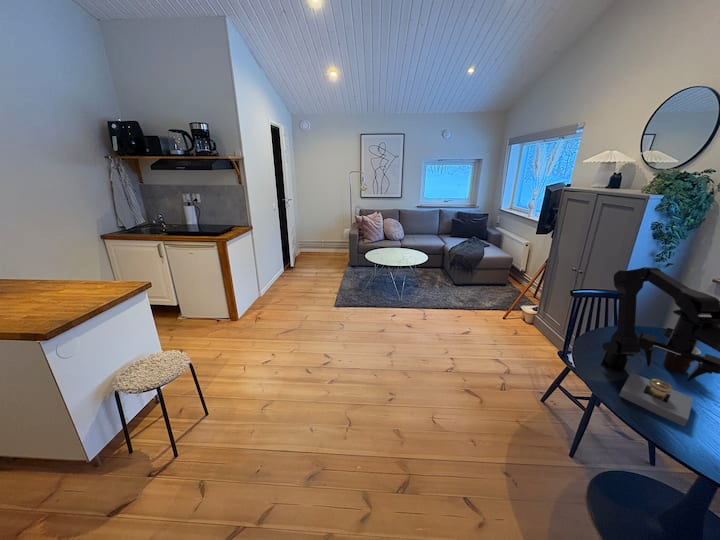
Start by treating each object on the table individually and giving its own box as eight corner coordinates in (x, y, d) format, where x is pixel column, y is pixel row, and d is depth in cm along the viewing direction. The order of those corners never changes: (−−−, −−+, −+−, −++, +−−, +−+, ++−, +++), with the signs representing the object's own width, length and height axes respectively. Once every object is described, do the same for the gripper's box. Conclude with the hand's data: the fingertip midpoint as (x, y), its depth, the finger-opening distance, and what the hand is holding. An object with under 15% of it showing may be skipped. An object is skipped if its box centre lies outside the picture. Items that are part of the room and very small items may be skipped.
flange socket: (618, 395, 102) (621, 389, 101) (628, 378, 110) (631, 372, 109) (684, 426, 90) (688, 419, 89) (689, 404, 99) (693, 398, 97)
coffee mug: (673, 361, 120) (683, 340, 116) (696, 375, 112) (707, 354, 108) (646, 361, 120) (655, 341, 116) (667, 376, 112) (677, 354, 108)
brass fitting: (641, 399, 101) (649, 383, 98) (644, 392, 104) (652, 376, 101) (663, 409, 97) (671, 393, 94) (665, 401, 100) (673, 385, 97)
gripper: (734, 337, 88) (711, 378, 94) (651, 313, 102) (635, 350, 107) (732, 351, 82) (708, 394, 87) (644, 323, 95) (628, 362, 101)
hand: (667, 373), depth 96 cm, fingers open, 9 cm apart
